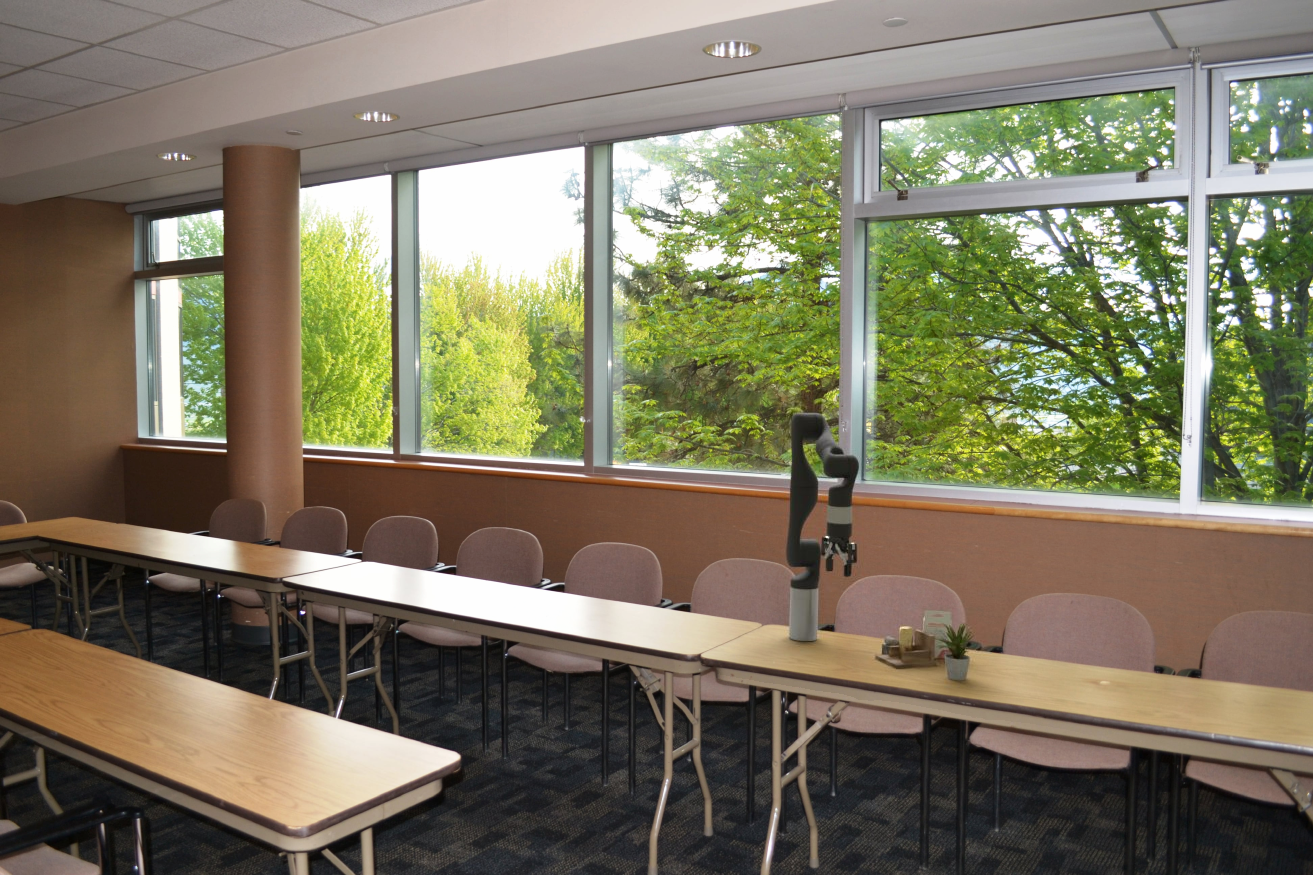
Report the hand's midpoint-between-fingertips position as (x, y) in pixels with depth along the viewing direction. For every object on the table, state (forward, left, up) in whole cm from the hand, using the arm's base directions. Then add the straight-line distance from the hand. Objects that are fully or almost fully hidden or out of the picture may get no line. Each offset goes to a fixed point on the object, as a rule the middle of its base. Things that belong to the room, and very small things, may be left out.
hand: (838, 573), depth 294 cm
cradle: (+3, +21, -27) cm, 34 cm away
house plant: (+23, +26, -27) cm, 44 cm away
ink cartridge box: (+2, +34, -27) cm, 44 cm away
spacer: (+5, +21, -26) cm, 34 cm away
